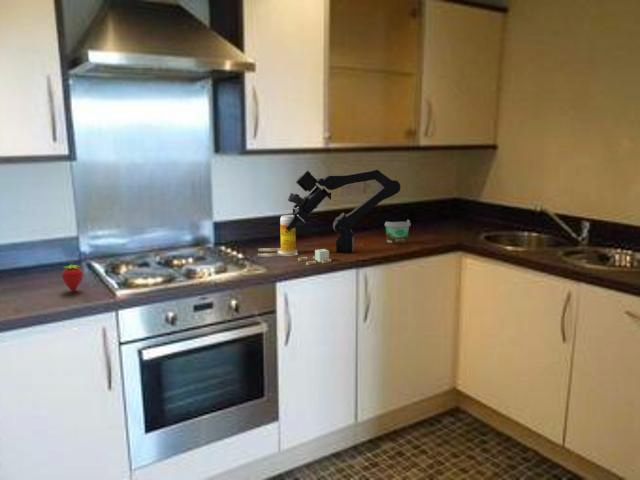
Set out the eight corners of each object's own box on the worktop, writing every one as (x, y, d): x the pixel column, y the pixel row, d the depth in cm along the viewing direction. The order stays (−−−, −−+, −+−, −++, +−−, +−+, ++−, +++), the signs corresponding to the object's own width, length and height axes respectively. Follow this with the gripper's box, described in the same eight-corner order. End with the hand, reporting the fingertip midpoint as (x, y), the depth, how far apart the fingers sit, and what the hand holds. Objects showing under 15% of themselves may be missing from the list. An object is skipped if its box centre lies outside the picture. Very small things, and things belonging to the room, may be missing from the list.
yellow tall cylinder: (282, 254, 223) (281, 217, 220) (279, 251, 229) (279, 215, 226) (297, 253, 224) (296, 216, 221) (294, 250, 230) (293, 214, 227)
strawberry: (84, 287, 178) (81, 257, 176) (84, 293, 172) (81, 261, 170) (64, 289, 176) (61, 258, 174) (63, 295, 169) (60, 263, 167)
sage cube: (324, 258, 216) (324, 248, 215) (329, 261, 213) (329, 250, 212) (315, 260, 214) (315, 250, 213) (319, 262, 211) (319, 251, 210)
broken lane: (321, 257, 218) (321, 255, 218) (331, 261, 210) (331, 259, 210) (298, 260, 214) (298, 257, 213) (307, 264, 206) (307, 262, 206)
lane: (294, 250, 232) (294, 247, 232) (295, 255, 221) (295, 253, 221) (258, 251, 231) (258, 248, 231) (257, 256, 220) (257, 254, 220)
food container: (391, 246, 238) (391, 223, 236) (384, 243, 244) (384, 221, 242) (415, 243, 243) (416, 221, 241) (407, 241, 249) (408, 219, 247)
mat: (296, 250, 231) (296, 250, 231) (297, 254, 223) (297, 254, 223) (277, 251, 230) (277, 250, 230) (277, 255, 222) (277, 254, 222)
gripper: (298, 183, 231) (272, 210, 232) (300, 188, 213) (272, 217, 214) (317, 202, 233) (291, 228, 234) (321, 207, 215) (293, 236, 216)
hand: (287, 227), depth 224 cm, fingers open, 9 cm apart
